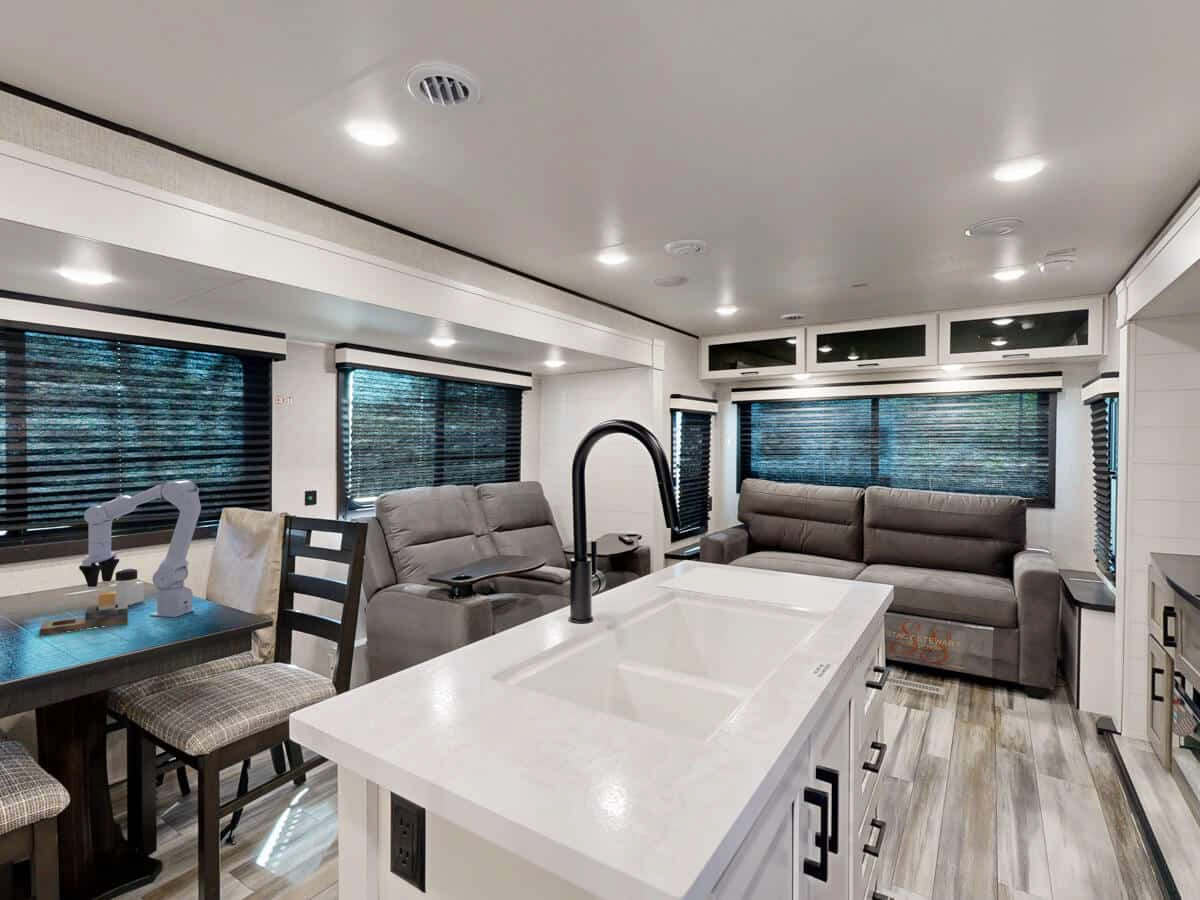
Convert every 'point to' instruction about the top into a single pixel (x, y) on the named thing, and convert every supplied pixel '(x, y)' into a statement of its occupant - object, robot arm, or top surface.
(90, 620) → the wooden base
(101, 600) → the plug
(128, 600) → the medicine bottle
